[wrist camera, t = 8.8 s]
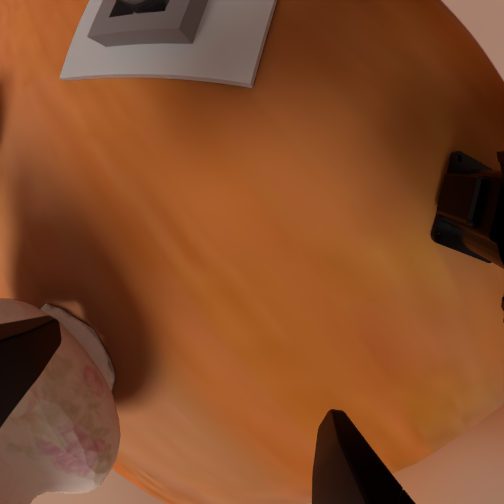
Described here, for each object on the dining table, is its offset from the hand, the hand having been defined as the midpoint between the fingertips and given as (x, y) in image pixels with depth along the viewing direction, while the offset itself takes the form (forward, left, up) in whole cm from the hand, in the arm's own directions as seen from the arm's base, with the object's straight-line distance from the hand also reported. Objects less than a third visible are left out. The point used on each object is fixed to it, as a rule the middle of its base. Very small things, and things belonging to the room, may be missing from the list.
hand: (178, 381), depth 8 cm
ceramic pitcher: (+16, +15, -12) cm, 25 cm away
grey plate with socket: (+10, -17, -12) cm, 23 cm away
